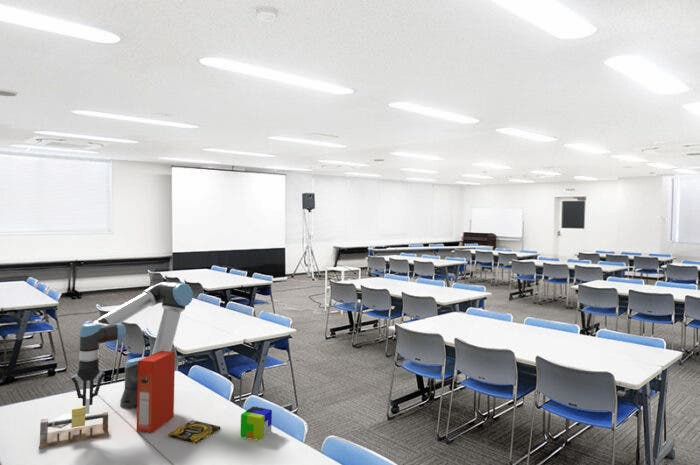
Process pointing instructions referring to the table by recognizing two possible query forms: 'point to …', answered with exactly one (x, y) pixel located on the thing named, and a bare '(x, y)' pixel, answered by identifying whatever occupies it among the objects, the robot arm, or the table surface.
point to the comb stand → (72, 431)
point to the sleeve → (78, 416)
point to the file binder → (155, 391)
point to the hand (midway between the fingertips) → (87, 412)
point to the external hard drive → (63, 417)
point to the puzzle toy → (256, 423)
